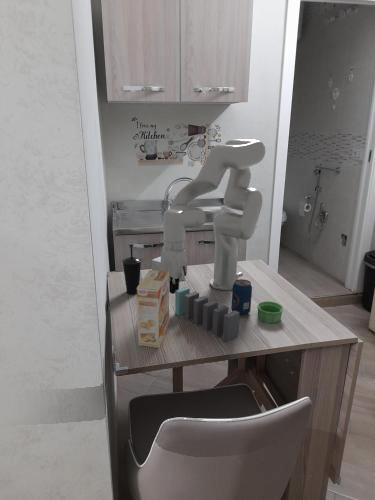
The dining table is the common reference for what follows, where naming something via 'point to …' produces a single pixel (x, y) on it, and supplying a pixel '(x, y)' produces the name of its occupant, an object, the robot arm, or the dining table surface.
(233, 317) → the tile
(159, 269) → the small box
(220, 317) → the tile
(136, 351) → the dining table surface
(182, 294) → the teal tile
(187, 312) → the tile
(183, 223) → the robot arm
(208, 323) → the tile
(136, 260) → the drinking cup
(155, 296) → the coffeecake box
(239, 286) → the soda can
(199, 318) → the tile
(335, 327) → the dining table surface
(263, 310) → the ramekin
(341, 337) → the dining table surface
